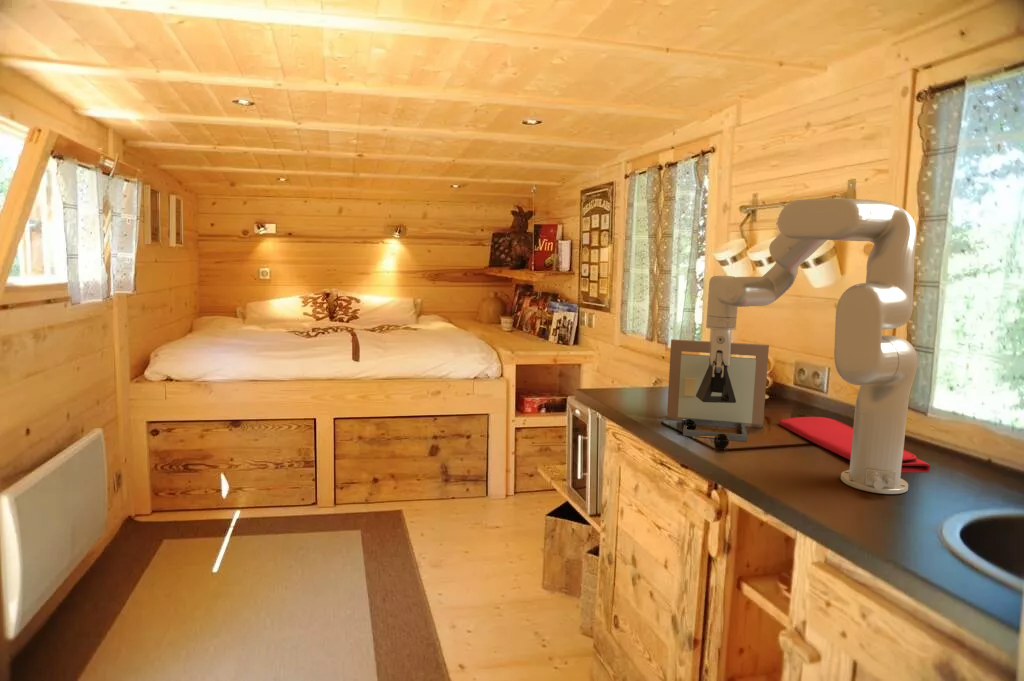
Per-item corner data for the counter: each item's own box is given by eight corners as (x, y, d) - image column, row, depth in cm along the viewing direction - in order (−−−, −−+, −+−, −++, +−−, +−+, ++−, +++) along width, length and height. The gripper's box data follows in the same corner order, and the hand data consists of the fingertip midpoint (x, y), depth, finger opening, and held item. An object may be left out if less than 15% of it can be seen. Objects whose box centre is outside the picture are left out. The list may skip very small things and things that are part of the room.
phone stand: (728, 397, 184) (731, 354, 182) (736, 402, 178) (739, 358, 176) (695, 397, 184) (698, 353, 182) (702, 402, 178) (705, 357, 176)
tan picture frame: (762, 428, 187) (769, 345, 183) (666, 419, 194) (671, 340, 190) (761, 424, 191) (767, 343, 188) (667, 416, 198) (671, 338, 195)
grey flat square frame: (747, 441, 173) (747, 435, 173) (682, 435, 177) (683, 430, 177) (744, 428, 186) (744, 422, 186) (684, 422, 191) (684, 417, 191)
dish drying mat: (831, 426, 192) (832, 413, 192) (932, 474, 152) (933, 458, 151) (778, 426, 191) (779, 413, 190) (865, 475, 150) (867, 459, 150)
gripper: (737, 327, 169) (732, 397, 171) (734, 320, 185) (730, 384, 188) (706, 325, 171) (701, 395, 173) (706, 318, 187) (702, 382, 190)
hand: (716, 389), depth 181 cm, fingers closed on phone stand, 6 cm apart
